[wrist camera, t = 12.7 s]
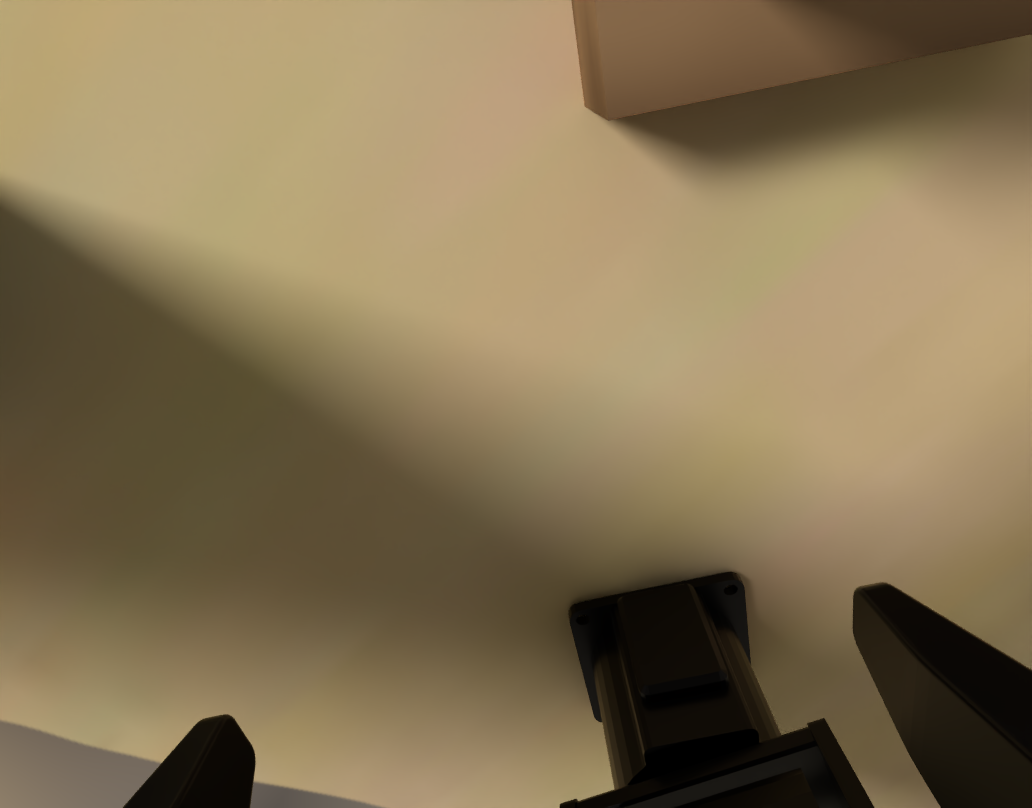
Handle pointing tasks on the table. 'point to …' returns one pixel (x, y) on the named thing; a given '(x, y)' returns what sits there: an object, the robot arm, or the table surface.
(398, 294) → the table surface
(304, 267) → the table surface
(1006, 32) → the walnut block
